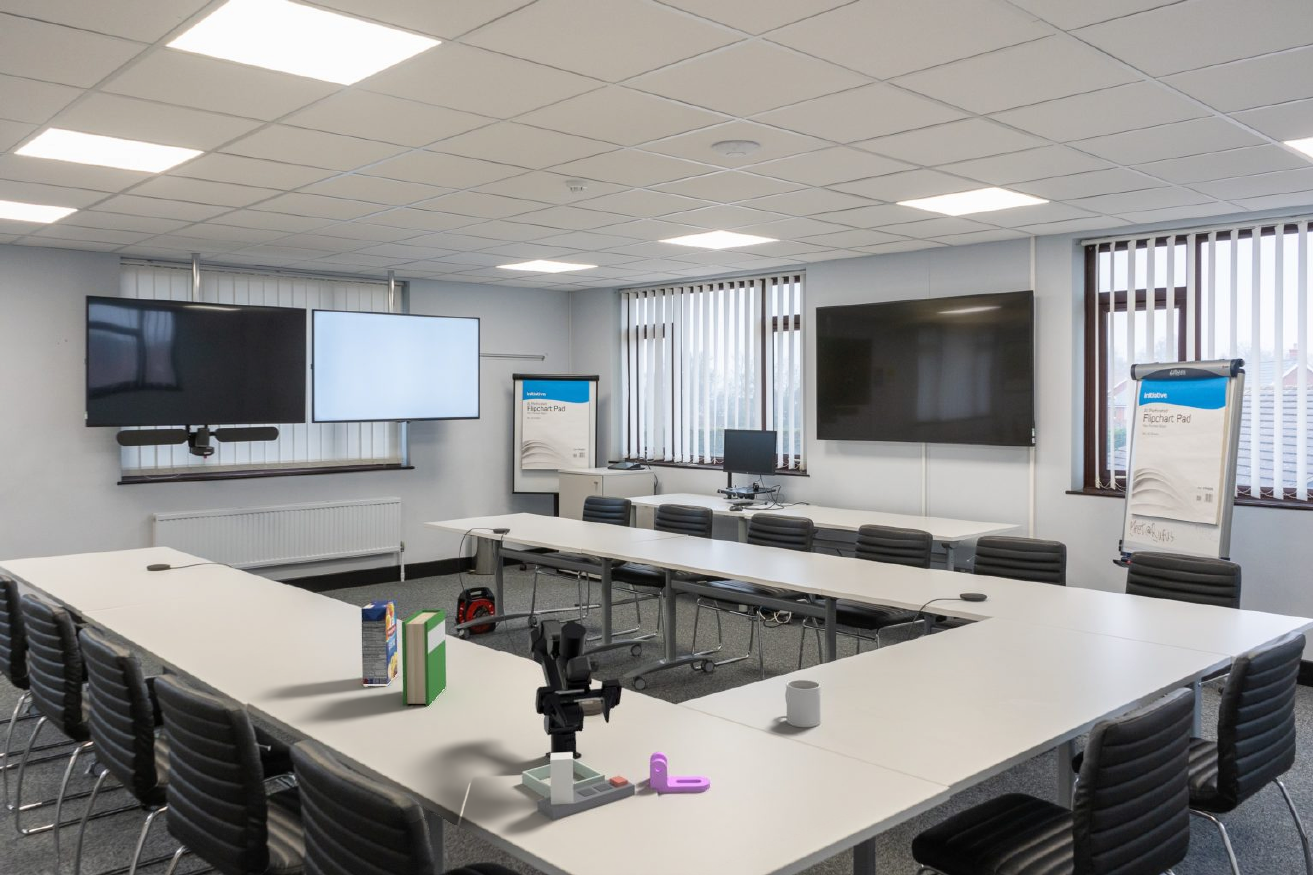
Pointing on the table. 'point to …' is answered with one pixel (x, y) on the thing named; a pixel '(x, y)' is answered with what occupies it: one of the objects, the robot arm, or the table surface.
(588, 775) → the tray
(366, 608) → the juice carton
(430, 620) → the hardback book
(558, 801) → the white long block
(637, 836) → the table surface
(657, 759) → the bracket
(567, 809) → the power strip
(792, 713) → the mug
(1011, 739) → the table surface
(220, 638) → the table surface
